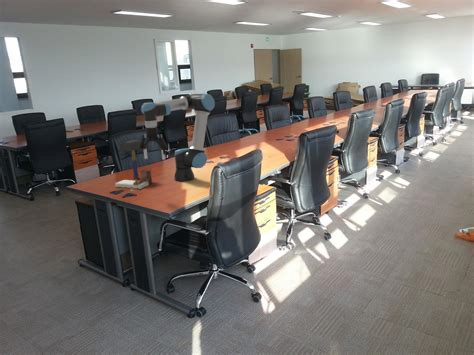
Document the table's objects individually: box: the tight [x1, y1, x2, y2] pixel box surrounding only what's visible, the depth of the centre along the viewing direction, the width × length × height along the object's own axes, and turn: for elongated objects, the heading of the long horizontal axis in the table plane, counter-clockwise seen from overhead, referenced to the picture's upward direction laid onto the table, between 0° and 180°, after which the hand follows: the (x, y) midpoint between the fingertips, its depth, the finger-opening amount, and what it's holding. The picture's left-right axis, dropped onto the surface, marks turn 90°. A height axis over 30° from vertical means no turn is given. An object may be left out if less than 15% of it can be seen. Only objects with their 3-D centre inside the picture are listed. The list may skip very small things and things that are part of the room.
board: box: [114, 179, 150, 190], centre depth 291 cm, size 10×22×3 cm, turn 67°
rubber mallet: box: [123, 139, 141, 179], centre depth 308 cm, size 12×8×30 cm, turn 153°
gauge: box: [133, 168, 153, 185], centre depth 290 cm, size 17×5×10 cm, turn 157°
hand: (155, 158), depth 263 cm, fingers open, 13 cm apart
